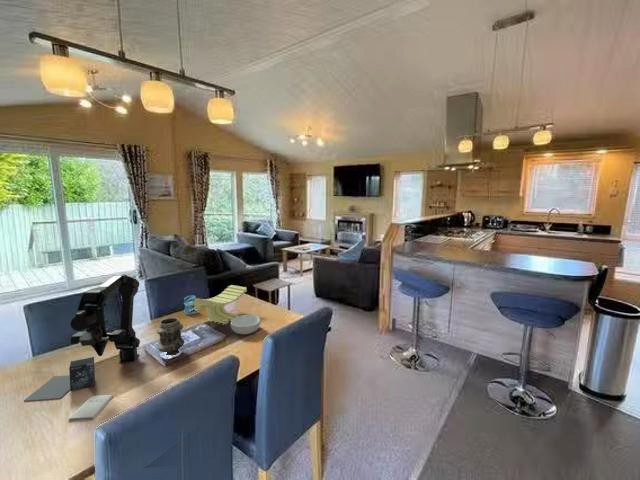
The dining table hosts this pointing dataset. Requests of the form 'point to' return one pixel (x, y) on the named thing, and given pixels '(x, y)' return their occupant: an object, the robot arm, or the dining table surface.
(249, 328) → the cereal bowl
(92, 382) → the box
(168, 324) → the apothecary jar
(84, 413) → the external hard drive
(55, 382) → the mat
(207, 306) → the slatted curved stool
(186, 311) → the blue patterned cup
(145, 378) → the dining table surface
